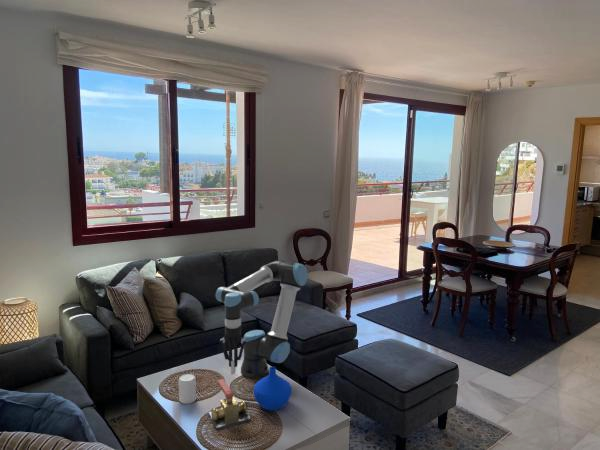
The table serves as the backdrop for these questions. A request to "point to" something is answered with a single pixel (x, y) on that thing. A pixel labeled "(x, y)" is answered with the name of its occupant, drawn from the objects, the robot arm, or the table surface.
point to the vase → (272, 391)
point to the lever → (225, 388)
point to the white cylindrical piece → (187, 388)
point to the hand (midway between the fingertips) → (233, 372)
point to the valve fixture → (229, 413)
